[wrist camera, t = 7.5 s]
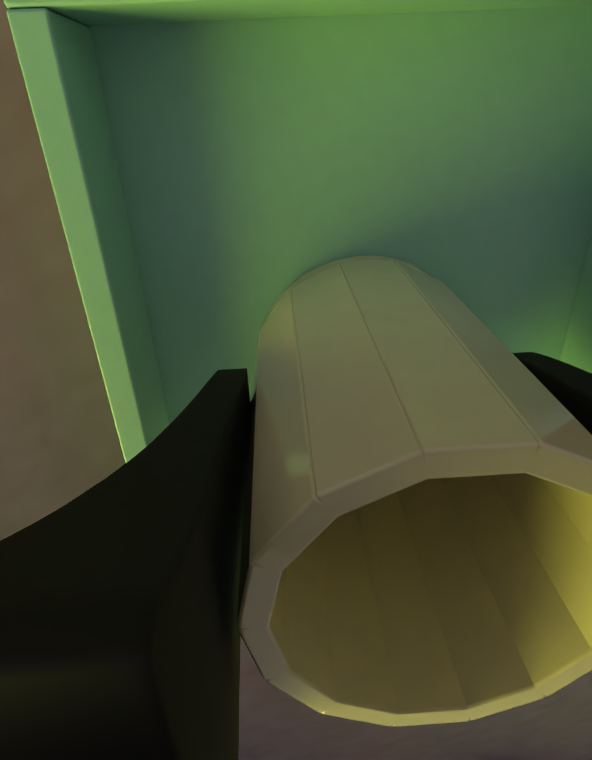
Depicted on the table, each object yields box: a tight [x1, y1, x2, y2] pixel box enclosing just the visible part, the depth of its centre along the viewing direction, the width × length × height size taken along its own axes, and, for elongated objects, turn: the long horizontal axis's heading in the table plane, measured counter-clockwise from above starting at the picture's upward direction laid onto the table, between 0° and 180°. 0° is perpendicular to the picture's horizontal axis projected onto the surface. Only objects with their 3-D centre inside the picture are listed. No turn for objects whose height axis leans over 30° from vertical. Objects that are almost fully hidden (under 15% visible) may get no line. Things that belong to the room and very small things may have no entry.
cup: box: [237, 256, 592, 727], centre depth 9 cm, size 5×5×7 cm
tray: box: [4, 0, 592, 463], centre depth 12 cm, size 15×11×2 cm
